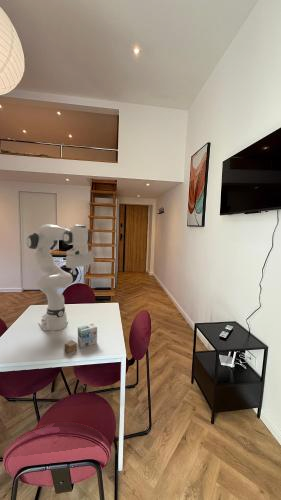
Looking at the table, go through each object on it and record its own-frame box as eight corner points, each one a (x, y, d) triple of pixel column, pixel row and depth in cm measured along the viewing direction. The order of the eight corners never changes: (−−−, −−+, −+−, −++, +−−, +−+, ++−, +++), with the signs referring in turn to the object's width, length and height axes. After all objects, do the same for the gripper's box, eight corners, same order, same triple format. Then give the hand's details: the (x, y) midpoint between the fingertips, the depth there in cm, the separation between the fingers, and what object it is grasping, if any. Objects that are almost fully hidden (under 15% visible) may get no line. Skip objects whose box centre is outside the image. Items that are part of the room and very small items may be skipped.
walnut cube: (64, 351, 129) (64, 343, 128) (71, 347, 133) (71, 340, 132) (69, 354, 126) (69, 346, 125) (76, 350, 130) (76, 342, 129)
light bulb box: (81, 348, 133) (81, 331, 132) (77, 343, 138) (77, 326, 137) (97, 343, 139) (97, 326, 138) (93, 338, 144) (93, 322, 143)
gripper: (88, 249, 145) (88, 270, 147) (63, 251, 128) (64, 275, 129) (95, 250, 142) (95, 271, 144) (71, 252, 125) (71, 276, 126)
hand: (80, 273), depth 136 cm, fingers open, 8 cm apart
